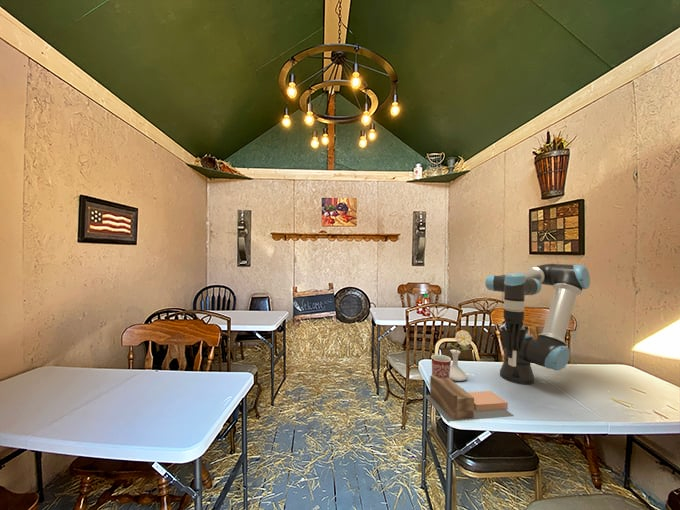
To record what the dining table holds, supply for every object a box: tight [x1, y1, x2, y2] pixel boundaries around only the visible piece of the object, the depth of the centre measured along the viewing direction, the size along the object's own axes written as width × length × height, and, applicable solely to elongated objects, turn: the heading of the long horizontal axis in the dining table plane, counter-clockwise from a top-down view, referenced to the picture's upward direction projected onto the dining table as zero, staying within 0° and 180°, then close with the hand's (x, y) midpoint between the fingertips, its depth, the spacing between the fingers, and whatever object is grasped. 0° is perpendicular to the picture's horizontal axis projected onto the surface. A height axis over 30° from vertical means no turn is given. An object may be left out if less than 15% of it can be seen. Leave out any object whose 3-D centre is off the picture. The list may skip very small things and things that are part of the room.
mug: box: [430, 354, 452, 378], centre depth 139 cm, size 13×9×14 cm
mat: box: [423, 394, 515, 423], centre depth 120 cm, size 28×20×1 cm
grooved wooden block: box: [429, 374, 474, 419], centre depth 118 cm, size 9×18×9 cm, turn 10°
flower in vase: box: [449, 329, 473, 382], centre depth 146 cm, size 13×11×25 cm
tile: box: [466, 390, 508, 411], centre depth 121 cm, size 14×10×3 cm
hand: (512, 365), depth 123 cm, fingers closed
